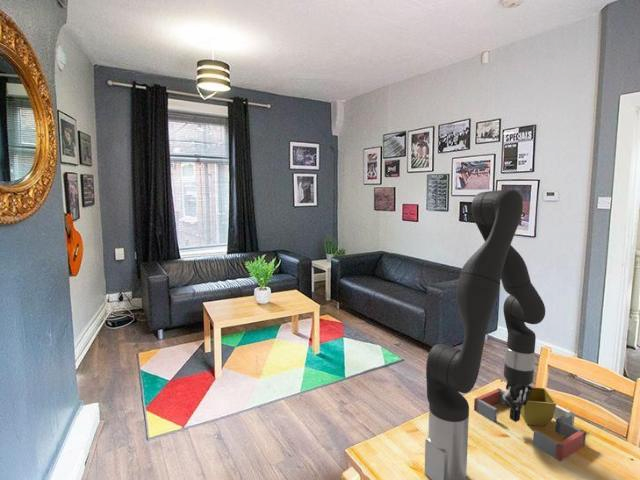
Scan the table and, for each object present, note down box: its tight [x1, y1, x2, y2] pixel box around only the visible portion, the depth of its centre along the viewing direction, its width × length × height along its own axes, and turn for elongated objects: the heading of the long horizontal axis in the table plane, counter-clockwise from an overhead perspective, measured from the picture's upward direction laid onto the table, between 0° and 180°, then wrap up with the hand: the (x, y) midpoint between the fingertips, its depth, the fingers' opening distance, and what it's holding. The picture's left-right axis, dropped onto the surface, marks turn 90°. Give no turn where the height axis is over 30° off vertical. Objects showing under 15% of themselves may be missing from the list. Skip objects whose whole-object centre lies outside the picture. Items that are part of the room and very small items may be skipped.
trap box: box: [473, 388, 587, 462], centre depth 111 cm, size 26×19×4 cm
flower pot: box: [520, 386, 557, 427], centre depth 111 cm, size 9×9×9 cm
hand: (514, 419), depth 107 cm, fingers closed
